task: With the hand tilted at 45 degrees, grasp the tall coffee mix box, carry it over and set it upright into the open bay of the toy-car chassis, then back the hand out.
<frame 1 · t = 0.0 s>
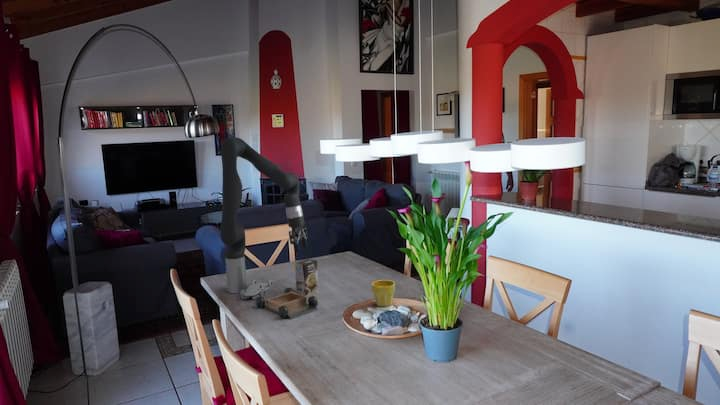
hand: (301, 249, 234), 22 cm above the table, tool pointing down, fingers open, 8 cm apart
chassis: (286, 307, 223), on the table
plant pot: (383, 304, 222), on the table
coffee box: (307, 294, 240), on the table
car model: (256, 293, 245), on the table
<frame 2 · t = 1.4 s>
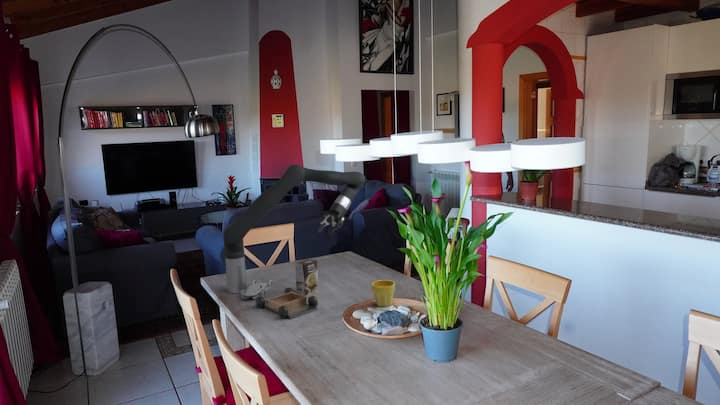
hand: (323, 233, 243), 28 cm above the table, tool tilted 45°, fingers open, 8 cm apart
nothing on the table moved.
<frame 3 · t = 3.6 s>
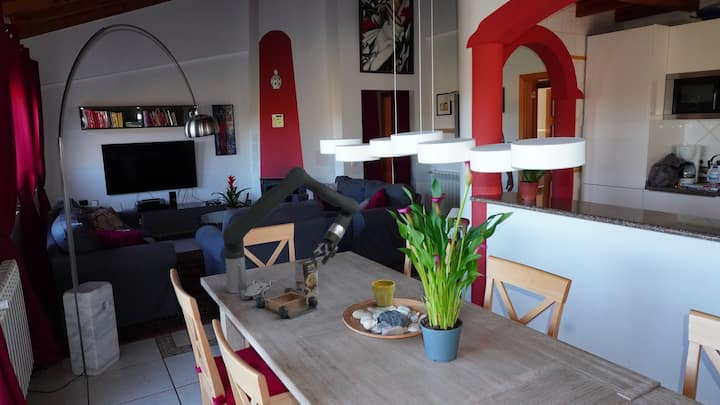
hand: (317, 262, 242), 14 cm above the table, tool tilted 45°, fingers open, 8 cm apart
nothing on the table moved.
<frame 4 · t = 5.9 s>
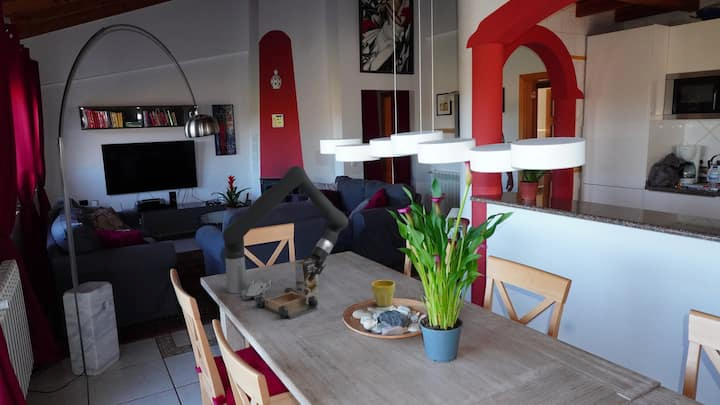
hand: (304, 278, 238), 8 cm above the table, tool tilted 45°, fingers closed on coffee box, 7 cm apart
coffee box: (307, 294, 240), on the table, touching gripper
everything else where it was.
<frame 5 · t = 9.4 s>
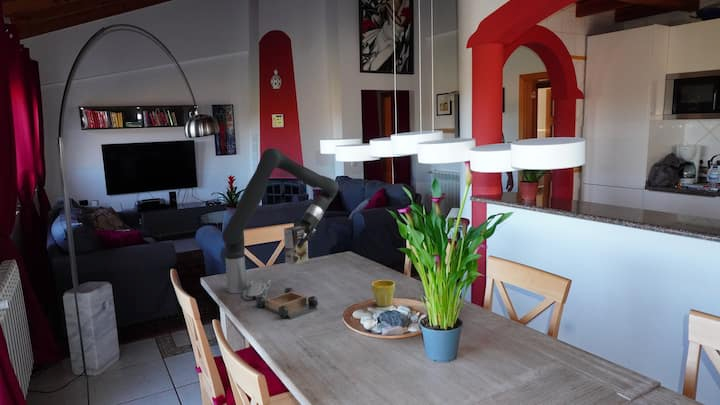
hand: (293, 245, 228), 26 cm above the table, tool tilted 45°, fingers closed on coffee box, 7 cm apart
coffee box: (297, 262, 230), point 18 cm above the table, touching gripper
when the fingers open (10 cm above the table, at t = 13.2 s): coffee box drops 1 cm, resting on chassis.
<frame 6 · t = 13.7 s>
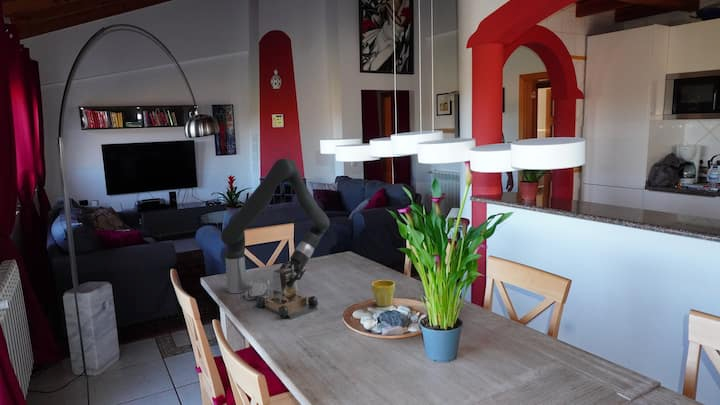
hand: (282, 284, 221), 11 cm above the table, tool tilted 45°, fingers open, 8 cm apart
coffee box: (286, 304, 223), point 1 cm above the table, touching chassis
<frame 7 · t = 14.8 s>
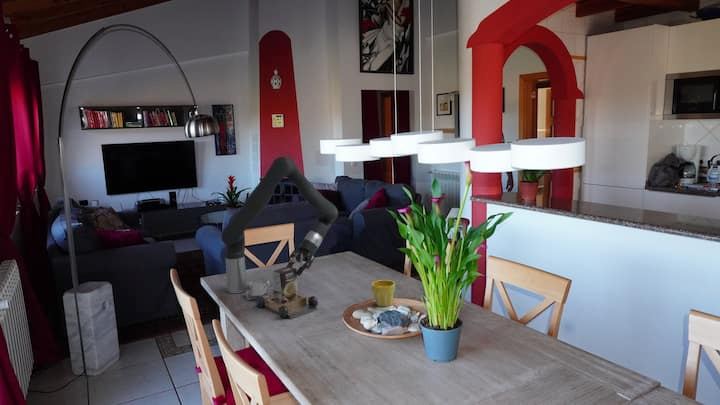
hand: (291, 273, 224), 15 cm above the table, tool tilted 45°, fingers open, 8 cm apart
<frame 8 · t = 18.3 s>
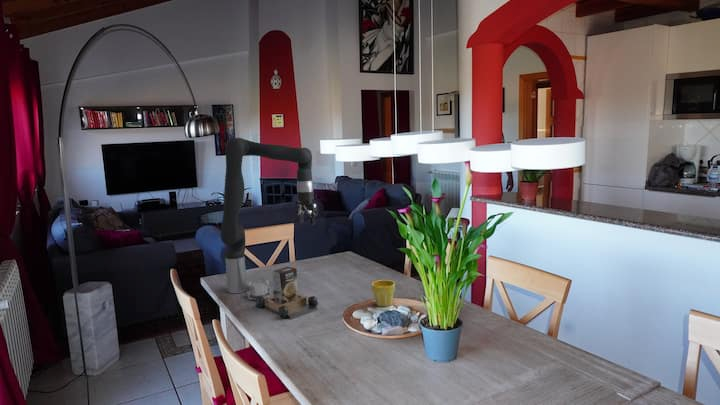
hand: (307, 224, 240), 33 cm above the table, tool pointing down, fingers open, 8 cm apart
at the end: coffee box 0.4 cm off-centre on the chassis, point 1.0 cm above the chassis's base; coffee box tilted 0°; the gripper is holding nothing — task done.
